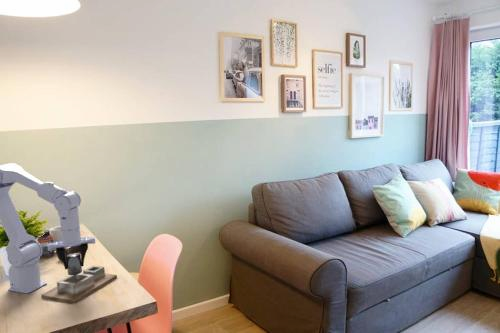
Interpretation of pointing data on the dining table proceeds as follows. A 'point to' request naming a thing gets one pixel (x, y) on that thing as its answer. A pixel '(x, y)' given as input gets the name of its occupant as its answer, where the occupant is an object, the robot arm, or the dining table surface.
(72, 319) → the dining table surface
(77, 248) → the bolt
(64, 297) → the fitting board
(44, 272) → the dining table surface
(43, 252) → the supplement bottle
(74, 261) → the gray metal cylinder
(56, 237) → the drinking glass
